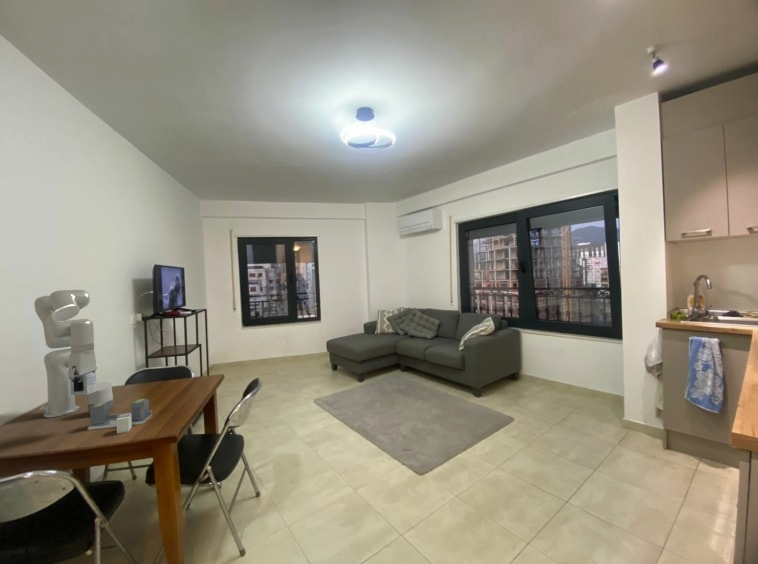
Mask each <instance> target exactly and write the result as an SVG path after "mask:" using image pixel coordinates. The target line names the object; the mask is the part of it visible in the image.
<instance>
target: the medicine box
mask: <svg viewBox="0 0 758 564" xmlns="http://www.w3.org/2000/svg"><path fill="white" fill-rule="evenodd" d="M77 375H78V374H77ZM77 378H78V379H79V377H77ZM82 382H83V391H79V392H74V383H73V382H72V380H71V395H75V396H76V395H78V396H79V395H80V396H82V395H83V396H84V395H88V396H89V394H91V393H94V392H96V391H97V385H96V384H97V373H96V372H95V373H87V374H84V375H83V377H82Z"/></svg>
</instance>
